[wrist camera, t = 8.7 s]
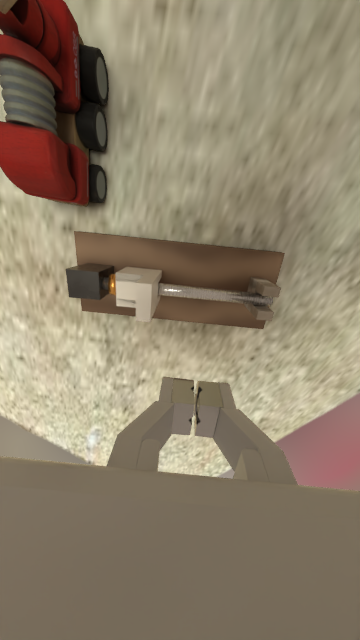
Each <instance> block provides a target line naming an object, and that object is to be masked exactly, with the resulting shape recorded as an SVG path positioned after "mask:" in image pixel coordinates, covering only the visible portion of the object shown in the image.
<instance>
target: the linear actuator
mask: <svg viewBox="0 0 360 640" xmlns="http://www.w3.org/2000/svg"><path fill="white" fill-rule="evenodd" d="M74 234H75V244H76V255H77V265H82V264H85V263H92V264H102V265H112V266H114V274H115V273H116V272H118V271H120V270H122V269H124V268H125V267H134V268H144V269H154V270H162V277H161V279H160V281H159V282H158V283H164V284H174V285H184V286H194V287H203V288H213V289H223V290H233V291H243V292H253V293H260V294H261V295H262V296H270V297H279V293H280V290H281V288H280V287H278V286H277V285H276V282H277V279H278V275H279V271H280V268H281V264H282V261H283V257H284V254H285V253H281V252H272V251H262V250H253V249H243V248H233V247H223V246H214V245H204V244H194V243H185V242H175V241H165V240H156V239H146V238H136V237H127V236H117V235H107V234H98V233H88V232H76V231H74ZM81 306H82V311H89V312H99V313H109V314H119V315H129V316H136V308H132V307H122V306H116V295H111V294H110V293H109V294H108V295H106V296H105V297H104V298H102V299H101V300H93V299H83V298H81ZM269 307H270V306H262V305H253V304H243V303H233V302H223V301H213V300H203V299H193V298H184V297H174V296H164V295H160V300H159V303H158V305H157V307H156V310H155V312H154V314H153V317H152V318H158V319H168V320H178V321H188V322H198V323H208V324H218V325H228V326H238V327H248V328H258V329H263V328H264V325H265V321H266V320H267V321H272V317H273V314H274V312H273V311H272V310H271V309H270V308H269Z"/></svg>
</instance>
